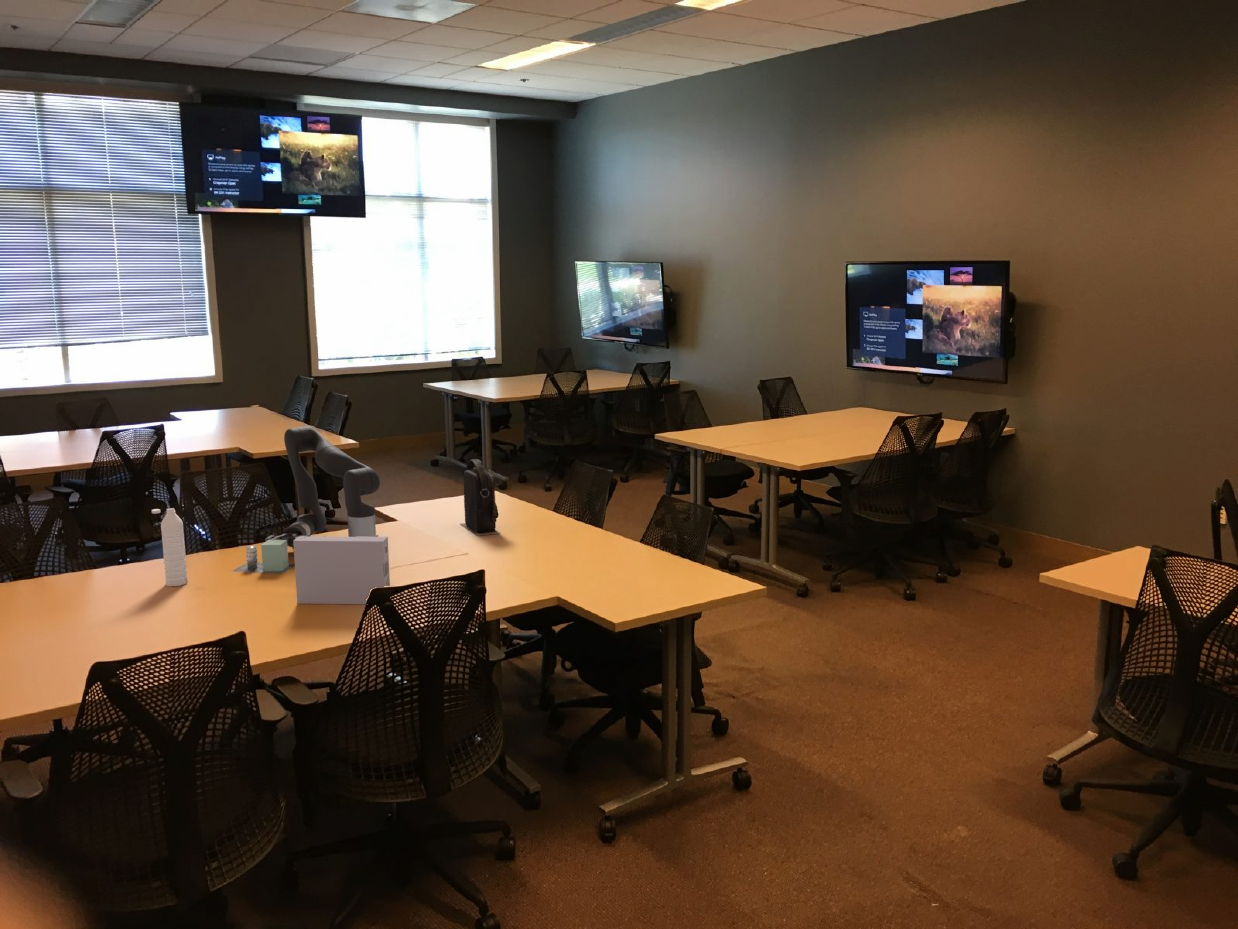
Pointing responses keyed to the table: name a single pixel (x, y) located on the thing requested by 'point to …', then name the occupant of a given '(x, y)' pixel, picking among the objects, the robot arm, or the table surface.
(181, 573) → the water bottle
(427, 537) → the table surface
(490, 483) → the shoulder bag
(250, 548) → the post stand
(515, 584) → the table surface
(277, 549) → the pale green block
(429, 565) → the table surface
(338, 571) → the game console
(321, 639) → the table surface
